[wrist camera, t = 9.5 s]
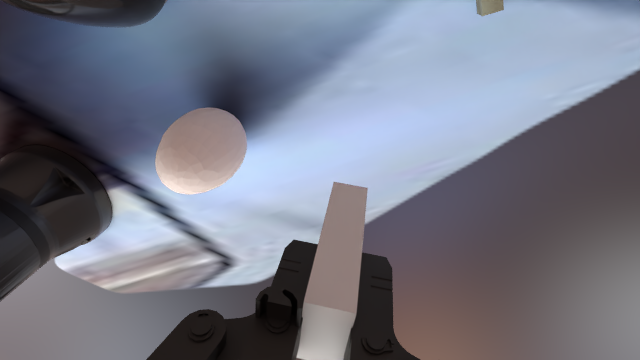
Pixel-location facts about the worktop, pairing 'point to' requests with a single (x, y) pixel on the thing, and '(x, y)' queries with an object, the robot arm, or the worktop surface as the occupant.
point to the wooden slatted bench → (489, 6)
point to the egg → (201, 151)
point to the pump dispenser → (93, 11)
